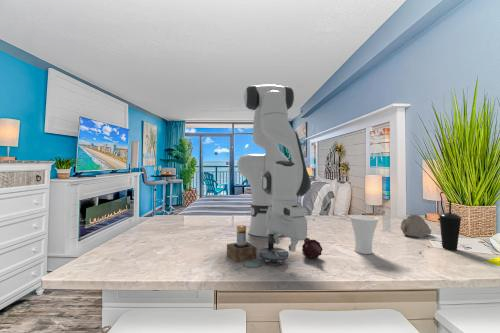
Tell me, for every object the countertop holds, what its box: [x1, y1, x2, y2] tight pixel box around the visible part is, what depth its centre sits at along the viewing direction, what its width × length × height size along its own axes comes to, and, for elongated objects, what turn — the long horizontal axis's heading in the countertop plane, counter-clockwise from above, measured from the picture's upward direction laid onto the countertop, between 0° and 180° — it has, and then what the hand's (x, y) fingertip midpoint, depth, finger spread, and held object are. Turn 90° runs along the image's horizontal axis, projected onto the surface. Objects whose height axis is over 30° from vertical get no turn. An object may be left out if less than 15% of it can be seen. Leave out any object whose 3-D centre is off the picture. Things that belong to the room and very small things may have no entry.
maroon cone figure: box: [301, 237, 323, 260], centre depth 95 cm, size 7×7×15 cm
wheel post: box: [264, 259, 284, 266], centre depth 90 cm, size 6×6×1 cm
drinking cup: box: [438, 200, 463, 252], centre depth 108 cm, size 8×8×20 cm
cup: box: [349, 214, 380, 255], centre depth 103 cm, size 10×10×14 cm
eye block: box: [226, 241, 257, 263], centre depth 95 cm, size 8×8×4 cm
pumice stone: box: [399, 213, 432, 238], centre depth 129 cm, size 15×8×10 cm, turn 99°
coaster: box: [243, 259, 261, 269], centre depth 87 cm, size 6×6×1 cm
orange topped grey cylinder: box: [236, 225, 247, 248], centre depth 95 cm, size 3×3×11 cm
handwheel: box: [259, 234, 290, 261], centre depth 90 cm, size 10×10×6 cm
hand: (283, 247), depth 91 cm, fingers open, 8 cm apart
